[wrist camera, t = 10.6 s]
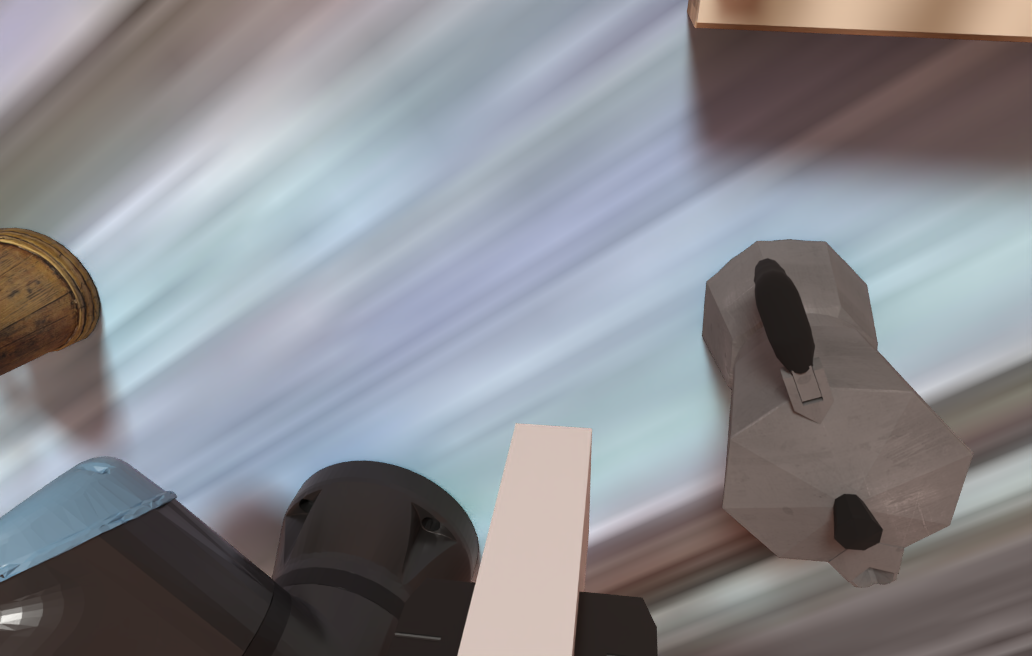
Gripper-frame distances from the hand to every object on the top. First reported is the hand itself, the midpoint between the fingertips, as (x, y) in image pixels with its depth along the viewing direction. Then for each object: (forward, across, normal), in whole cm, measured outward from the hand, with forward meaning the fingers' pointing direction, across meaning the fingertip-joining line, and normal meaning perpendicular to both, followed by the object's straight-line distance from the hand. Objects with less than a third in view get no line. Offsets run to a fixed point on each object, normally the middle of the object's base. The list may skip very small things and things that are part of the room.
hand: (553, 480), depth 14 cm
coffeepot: (+27, +10, -8) cm, 30 cm away
